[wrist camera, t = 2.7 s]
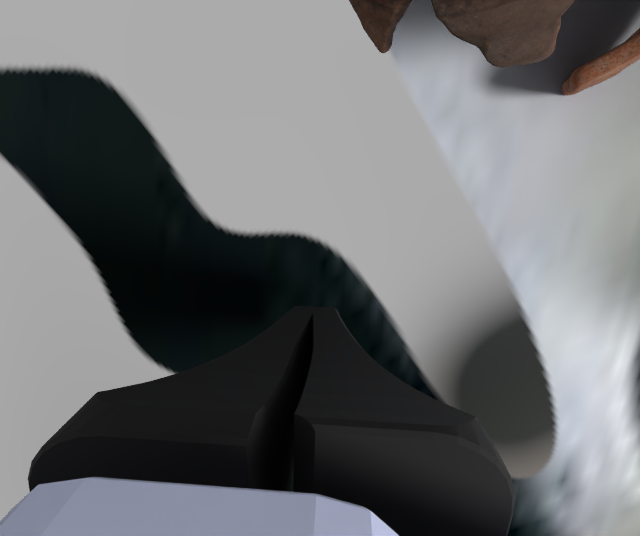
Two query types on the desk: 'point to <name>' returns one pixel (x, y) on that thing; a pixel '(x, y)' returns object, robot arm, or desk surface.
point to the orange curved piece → (502, 33)
